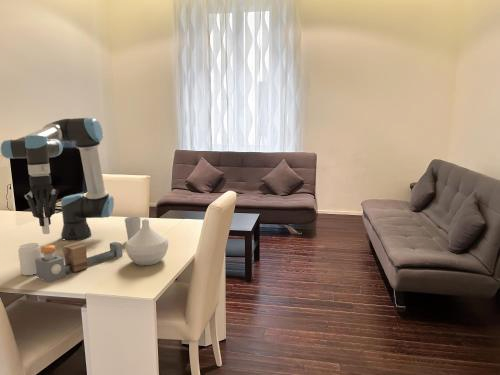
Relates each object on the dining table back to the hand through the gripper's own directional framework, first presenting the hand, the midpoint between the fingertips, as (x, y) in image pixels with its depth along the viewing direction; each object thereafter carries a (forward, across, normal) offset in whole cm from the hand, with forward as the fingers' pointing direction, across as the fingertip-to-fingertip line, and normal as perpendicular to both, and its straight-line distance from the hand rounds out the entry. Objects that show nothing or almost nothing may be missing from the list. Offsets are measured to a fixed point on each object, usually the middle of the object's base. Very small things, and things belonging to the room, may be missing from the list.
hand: (46, 233), depth 164 cm
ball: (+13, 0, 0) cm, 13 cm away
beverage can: (+19, -2, +12) cm, 22 cm away
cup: (+18, +51, +13) cm, 56 cm away
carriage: (+19, +11, 0) cm, 22 cm away
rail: (+19, +18, 0) cm, 26 cm away
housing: (+19, 0, 0) cm, 19 cm away
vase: (+19, +34, -19) cm, 43 cm away
